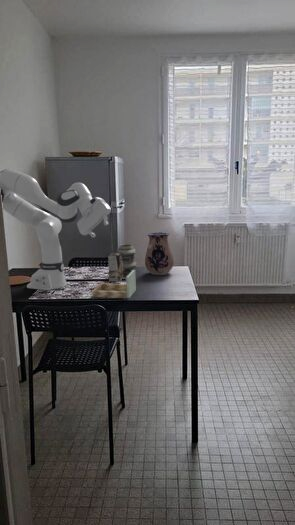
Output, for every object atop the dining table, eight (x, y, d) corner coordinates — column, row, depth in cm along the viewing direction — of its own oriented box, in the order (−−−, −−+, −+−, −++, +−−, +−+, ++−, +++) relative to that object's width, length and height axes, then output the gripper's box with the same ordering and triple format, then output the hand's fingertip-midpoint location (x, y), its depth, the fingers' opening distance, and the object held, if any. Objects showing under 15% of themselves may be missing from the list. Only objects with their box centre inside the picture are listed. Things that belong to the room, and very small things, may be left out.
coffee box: (119, 283, 234) (118, 255, 230) (109, 282, 235) (107, 255, 231) (123, 278, 242) (122, 252, 239) (113, 278, 244) (112, 252, 240)
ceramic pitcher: (145, 277, 243) (144, 236, 237) (145, 269, 263) (144, 231, 257) (174, 277, 242) (173, 236, 237) (172, 268, 263) (172, 230, 257)
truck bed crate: (92, 298, 208) (92, 291, 207) (101, 290, 221) (100, 283, 220) (126, 299, 204) (125, 292, 203) (133, 291, 217) (132, 284, 216)
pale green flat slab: (127, 299, 204) (126, 277, 201) (133, 290, 217) (133, 269, 214) (129, 299, 204) (128, 277, 201) (136, 290, 217) (135, 270, 214)
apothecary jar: (115, 275, 250) (113, 246, 246) (121, 270, 262) (120, 243, 257) (133, 276, 247) (132, 247, 243) (139, 271, 258) (138, 243, 254)
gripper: (71, 221, 204) (82, 242, 199) (98, 194, 196) (109, 216, 191) (80, 223, 209) (90, 244, 204) (106, 197, 201) (118, 218, 196)
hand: (100, 230), depth 197 cm, fingers open, 8 cm apart
